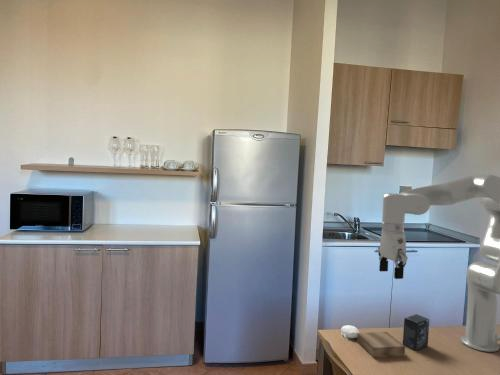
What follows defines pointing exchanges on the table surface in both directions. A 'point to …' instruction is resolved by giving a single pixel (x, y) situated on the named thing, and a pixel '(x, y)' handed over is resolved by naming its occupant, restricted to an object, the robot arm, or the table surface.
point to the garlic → (349, 331)
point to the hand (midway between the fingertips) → (390, 274)
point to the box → (416, 332)
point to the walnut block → (380, 344)
